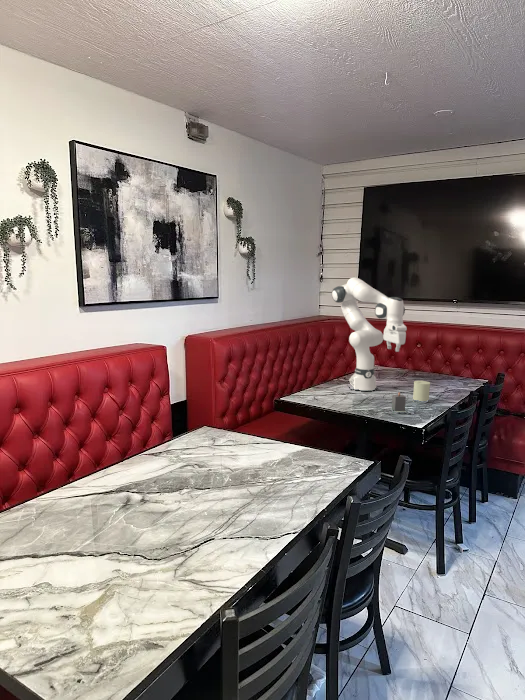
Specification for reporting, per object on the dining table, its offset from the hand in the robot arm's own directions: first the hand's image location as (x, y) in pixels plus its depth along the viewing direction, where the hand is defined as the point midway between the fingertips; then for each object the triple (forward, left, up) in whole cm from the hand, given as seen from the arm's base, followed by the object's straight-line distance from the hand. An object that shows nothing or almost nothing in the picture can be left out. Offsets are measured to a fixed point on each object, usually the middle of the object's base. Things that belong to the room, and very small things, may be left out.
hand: (393, 350), depth 261 cm
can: (-1, +20, -31) cm, 37 cm away
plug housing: (+18, -4, -30) cm, 35 cm away
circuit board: (+13, -4, -31) cm, 34 cm away
